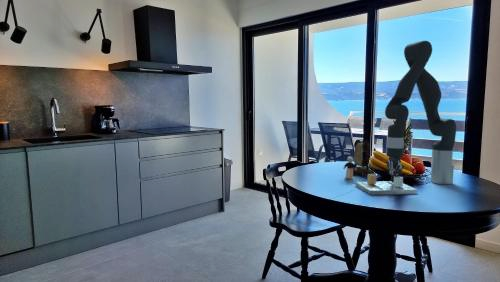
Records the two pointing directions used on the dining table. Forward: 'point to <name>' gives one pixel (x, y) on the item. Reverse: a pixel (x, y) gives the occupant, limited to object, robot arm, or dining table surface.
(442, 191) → the dining table surface
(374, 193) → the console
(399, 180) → the fader
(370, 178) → the fader
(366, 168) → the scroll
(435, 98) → the robot arm
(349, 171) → the grandmother figurine
